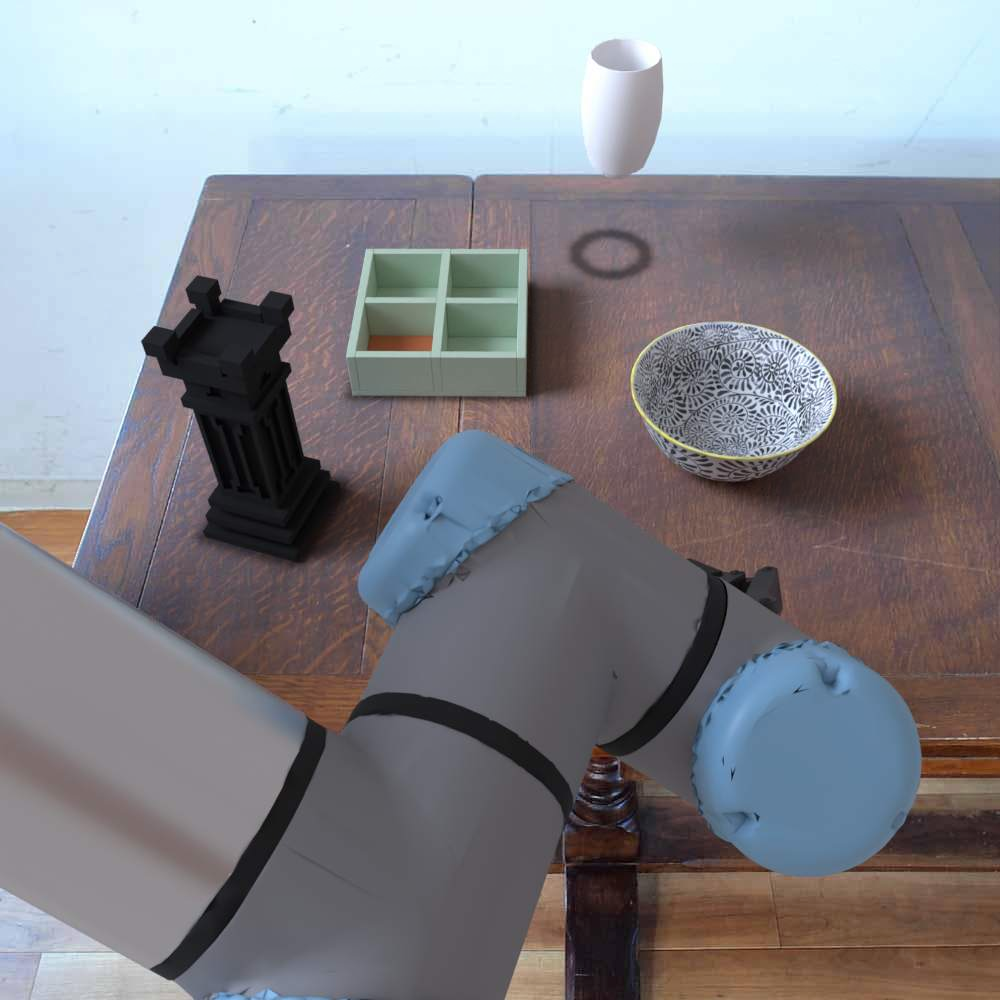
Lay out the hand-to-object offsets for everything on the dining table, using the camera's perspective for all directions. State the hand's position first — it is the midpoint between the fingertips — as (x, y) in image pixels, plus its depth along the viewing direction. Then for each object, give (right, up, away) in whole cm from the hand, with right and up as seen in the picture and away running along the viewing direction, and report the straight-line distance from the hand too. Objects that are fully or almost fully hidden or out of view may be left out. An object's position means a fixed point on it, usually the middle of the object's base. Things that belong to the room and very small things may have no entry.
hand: (588, 595), depth 69 cm
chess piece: (-24, +5, +14) cm, 29 cm away
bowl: (+13, +10, +18) cm, 24 cm away
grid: (-11, +21, +28) cm, 37 cm away
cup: (+5, +31, +36) cm, 48 cm away
